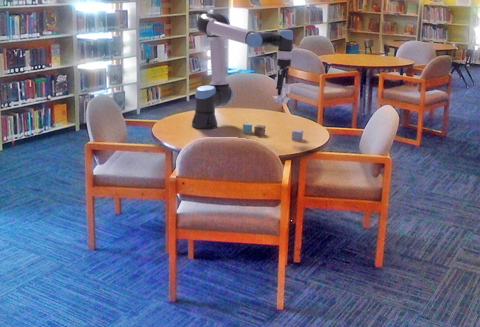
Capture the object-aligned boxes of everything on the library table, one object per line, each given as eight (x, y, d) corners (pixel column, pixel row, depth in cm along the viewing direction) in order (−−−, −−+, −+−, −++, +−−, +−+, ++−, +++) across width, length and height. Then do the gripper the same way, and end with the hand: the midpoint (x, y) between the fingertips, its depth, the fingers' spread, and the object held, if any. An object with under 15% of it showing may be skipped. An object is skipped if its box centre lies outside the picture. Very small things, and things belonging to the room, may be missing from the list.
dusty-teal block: (242, 133, 337) (243, 124, 336) (243, 130, 342) (243, 122, 341) (251, 133, 337) (251, 125, 336) (251, 131, 342) (252, 123, 340)
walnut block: (254, 135, 334) (254, 126, 332) (256, 133, 338) (257, 124, 337) (262, 136, 332) (262, 127, 331) (264, 134, 337) (265, 125, 336)
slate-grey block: (291, 140, 328) (292, 131, 326) (293, 137, 332) (294, 129, 331) (300, 141, 326) (301, 132, 325) (302, 139, 331) (303, 130, 329)
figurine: (285, 105, 323) (287, 78, 319) (270, 103, 328) (272, 76, 324) (291, 104, 329) (293, 77, 324) (277, 101, 334) (278, 75, 329)
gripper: (286, 61, 310) (283, 103, 317) (295, 57, 330) (292, 97, 336) (272, 60, 312) (269, 102, 319) (282, 56, 332) (279, 95, 339)
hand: (281, 99), depth 328 cm, fingers closed on figurine, 8 cm apart
